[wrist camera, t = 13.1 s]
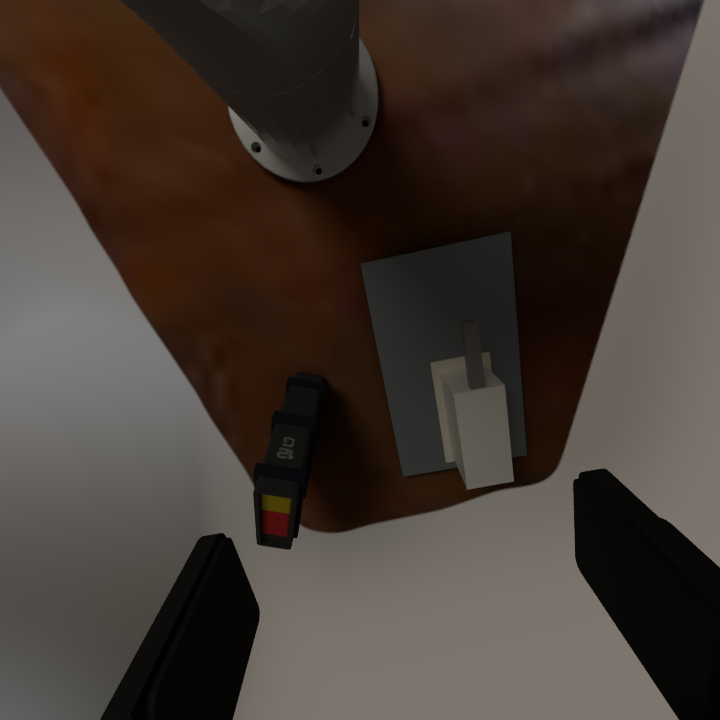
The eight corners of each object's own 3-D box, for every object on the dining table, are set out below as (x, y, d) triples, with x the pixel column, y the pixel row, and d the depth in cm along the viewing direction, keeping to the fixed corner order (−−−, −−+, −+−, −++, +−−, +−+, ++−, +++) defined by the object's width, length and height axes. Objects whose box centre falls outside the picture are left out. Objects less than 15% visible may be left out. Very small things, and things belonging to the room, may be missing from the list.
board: (360, 263, 35) (360, 266, 30) (505, 232, 34) (528, 230, 29) (402, 470, 42) (407, 498, 37) (522, 449, 41) (543, 475, 36)
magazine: (332, 352, 36) (302, 496, 25) (319, 428, 45) (293, 558, 34) (294, 345, 36) (248, 487, 25) (289, 423, 45) (253, 552, 34)
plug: (430, 314, 35) (444, 328, 29) (475, 304, 35) (498, 317, 29) (452, 454, 40) (467, 489, 34) (491, 446, 39) (513, 481, 34)
